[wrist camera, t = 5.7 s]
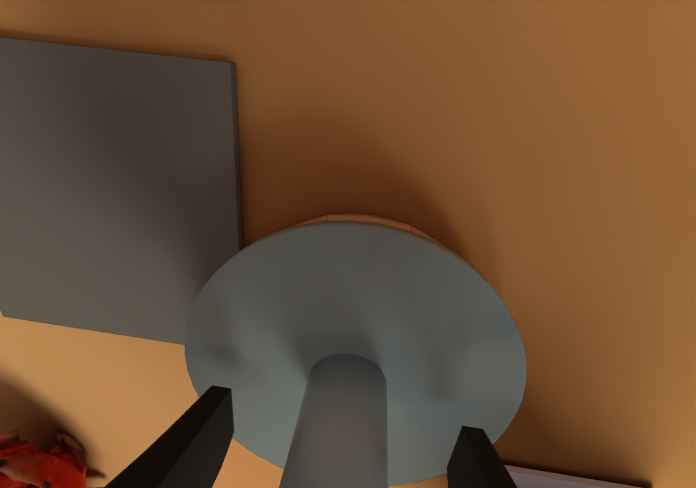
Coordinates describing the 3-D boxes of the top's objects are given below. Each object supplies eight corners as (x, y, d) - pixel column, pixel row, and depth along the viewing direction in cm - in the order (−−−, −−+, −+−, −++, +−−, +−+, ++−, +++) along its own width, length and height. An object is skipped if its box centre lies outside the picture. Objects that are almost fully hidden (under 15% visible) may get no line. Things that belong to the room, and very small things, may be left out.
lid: (563, 229, 9) (720, 341, 5) (484, 486, 14) (527, 651, 10) (161, 211, 10) (3, 289, 6) (219, 456, 15) (156, 594, 11)
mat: (235, 63, 10) (230, 62, 10) (246, 347, 15) (243, 353, 15) (-105, 26, 11) (-122, 23, 11) (12, 311, 16) (3, 316, 16)
